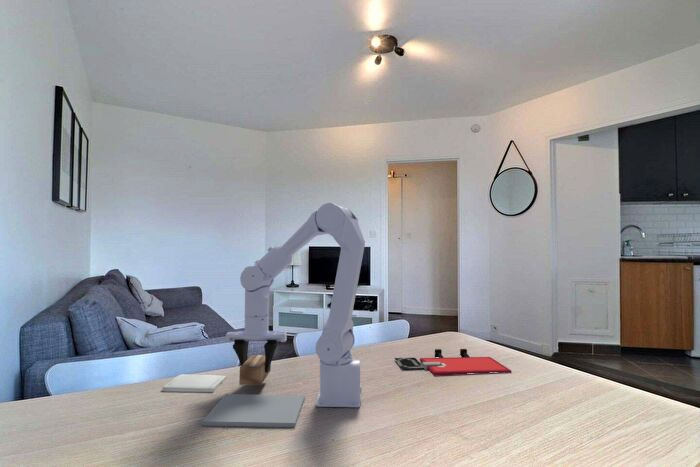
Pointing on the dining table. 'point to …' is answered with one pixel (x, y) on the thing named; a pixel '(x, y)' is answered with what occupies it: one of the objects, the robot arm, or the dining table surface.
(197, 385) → the hard drive
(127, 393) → the dining table surface
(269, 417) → the rubber mat
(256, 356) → the taped cardboard box
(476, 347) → the dining table surface
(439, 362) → the red board with handle
